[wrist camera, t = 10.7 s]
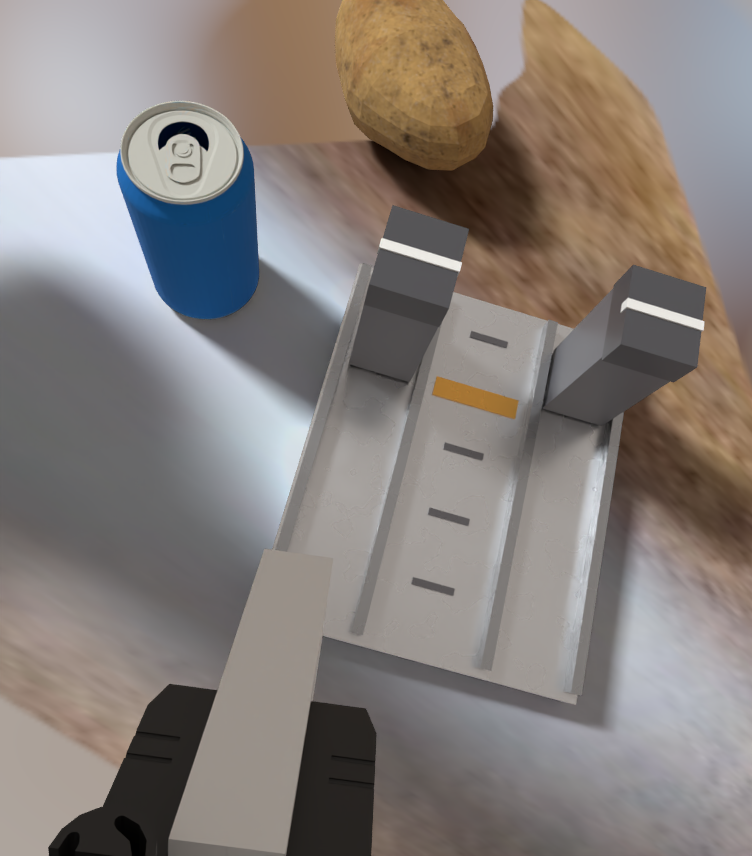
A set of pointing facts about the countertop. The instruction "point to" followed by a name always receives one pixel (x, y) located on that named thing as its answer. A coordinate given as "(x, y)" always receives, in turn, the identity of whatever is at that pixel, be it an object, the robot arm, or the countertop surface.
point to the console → (458, 503)
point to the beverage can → (192, 206)
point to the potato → (414, 80)
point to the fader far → (627, 347)
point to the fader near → (407, 292)
